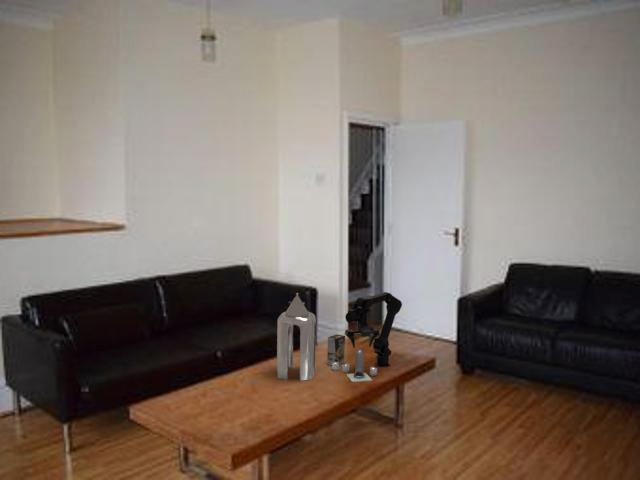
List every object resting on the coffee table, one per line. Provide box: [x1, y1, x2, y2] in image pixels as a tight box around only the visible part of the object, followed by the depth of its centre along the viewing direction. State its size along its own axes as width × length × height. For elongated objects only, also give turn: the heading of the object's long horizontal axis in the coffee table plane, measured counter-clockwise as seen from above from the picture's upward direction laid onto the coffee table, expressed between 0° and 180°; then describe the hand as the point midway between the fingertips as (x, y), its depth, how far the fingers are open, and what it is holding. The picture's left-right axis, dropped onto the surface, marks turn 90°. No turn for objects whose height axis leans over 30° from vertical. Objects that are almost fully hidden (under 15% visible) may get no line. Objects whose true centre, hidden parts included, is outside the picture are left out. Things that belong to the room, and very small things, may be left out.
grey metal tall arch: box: [276, 292, 317, 381], centre depth 314 cm, size 20×20×45 cm
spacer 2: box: [341, 362, 350, 373], centre depth 321 cm, size 4×4×4 cm
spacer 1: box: [331, 361, 340, 372], centre depth 324 cm, size 4×4×4 cm
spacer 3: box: [369, 366, 378, 377], centre depth 316 cm, size 4×4×4 cm
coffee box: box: [326, 333, 346, 366], centre depth 334 cm, size 9×6×16 cm
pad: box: [346, 372, 373, 383], centre depth 311 cm, size 11×11×1 cm
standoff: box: [353, 348, 365, 379], centre depth 310 cm, size 6×6×14 cm
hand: (361, 347), depth 322 cm, fingers open, 9 cm apart
